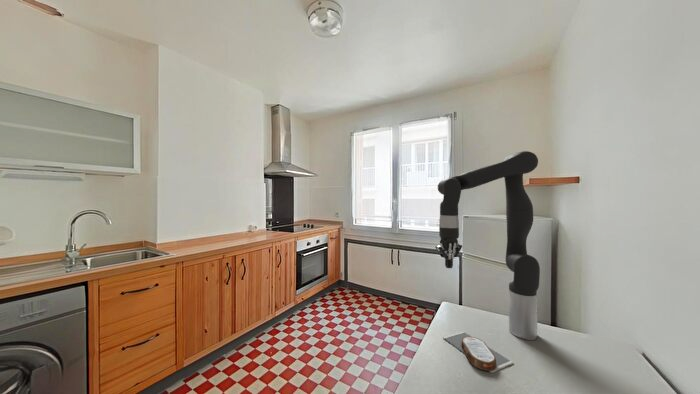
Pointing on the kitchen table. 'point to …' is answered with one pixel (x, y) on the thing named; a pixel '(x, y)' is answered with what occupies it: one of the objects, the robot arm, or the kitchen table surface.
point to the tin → (478, 353)
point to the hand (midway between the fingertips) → (448, 267)
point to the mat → (500, 360)
